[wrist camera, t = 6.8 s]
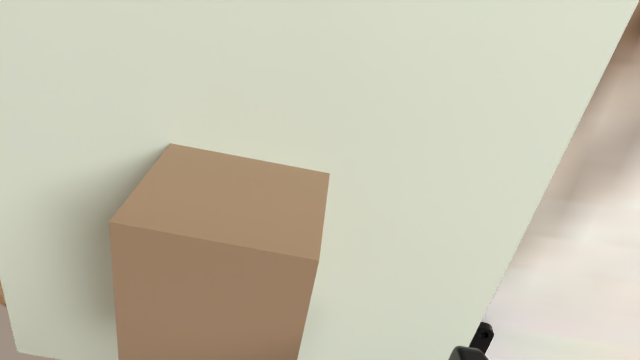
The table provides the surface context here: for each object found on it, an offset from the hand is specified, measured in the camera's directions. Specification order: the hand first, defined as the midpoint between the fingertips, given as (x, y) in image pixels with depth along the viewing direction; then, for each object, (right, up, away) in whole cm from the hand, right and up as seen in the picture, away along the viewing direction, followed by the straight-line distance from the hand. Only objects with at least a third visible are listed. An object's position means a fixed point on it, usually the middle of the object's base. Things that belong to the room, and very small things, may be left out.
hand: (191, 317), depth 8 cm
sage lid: (0, +2, +4) cm, 5 cm away
